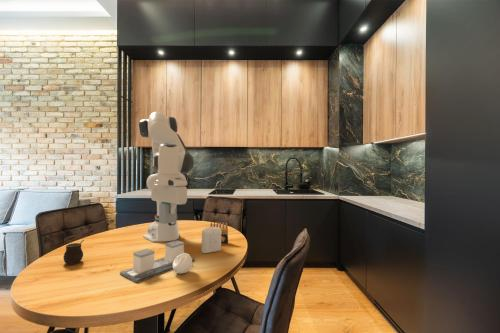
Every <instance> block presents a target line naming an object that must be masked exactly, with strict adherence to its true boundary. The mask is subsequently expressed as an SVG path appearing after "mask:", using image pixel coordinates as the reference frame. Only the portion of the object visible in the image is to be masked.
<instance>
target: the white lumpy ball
mask: <svg viewBox="0 0 500 333" xmlns="http://www.w3.org/2000/svg"><path fill="white" fill-rule="evenodd" d="M192 258H193V257H191V255H190V254H189V253H187V252H184V253H183V254H180V255H178V256H177V257H176V259H175V260H174V262H173V264H172V265H173V269H172V270H173V271H174V272H175V273H177V274H181V275H182V274H185V273H188V272H189V271H190V270H191V268H192V266H193V262H192Z"/></svg>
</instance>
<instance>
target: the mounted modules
mask: <svg viewBox="0 0 500 333" xmlns="http://www.w3.org/2000/svg"><path fill="white" fill-rule="evenodd" d="M184 245H185V243H184V242H183V241H180V240H172V241H169V242H167V243H165V256H164V257H165V259H166V260H169V261H174V260H175V259H176V257H177V256H178V255H180V254H183V253H185V252H184V251H185V250H184V249H185V247H184ZM132 254H133V263H132V264H133V267H132V268H133V270H134V271H136V272H138V273H142V272H144V271H147V270H150V269H153V268H154V261H155V250H152V249H150V248H145V249H141V250H138V251H134V252H133V253H132Z"/></svg>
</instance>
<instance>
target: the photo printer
mask: <svg viewBox="0 0 500 333" xmlns="http://www.w3.org/2000/svg"><path fill="white" fill-rule="evenodd" d="M221 228H222V227H221ZM221 228H219V226H218V227H216V226H215V227H213V226H212V227H206V228H204V229H202V231H201V253H202V254H209V253H214V252H221V251H222V243H221Z"/></svg>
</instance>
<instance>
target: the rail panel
mask: <svg viewBox="0 0 500 333" xmlns="http://www.w3.org/2000/svg"><path fill="white" fill-rule="evenodd" d="M165 257H166V256H164V257H162V258H159V259H156V260H155V259H154V268H153V269H150V270H147V271H144V272H142V273H138V272H136V271H134V270H133V267H131V268H129V269H125V270H122V271H120V272H119V275H120V276H122V277H124V278H126V279H128V280H130V281H132V282H134V283H136V284H138V283H140V282H141V283H142V282H143V281H146V280H148V279H151V278H153V277H156V276H158V275H161V274H163V273H164V274H165V273H166V272H169V271H172V270H174V269H173V265H172V264H173V262H174V261H169V260H166V259H165ZM191 258H192V263H194V262H195V258H194V257H191Z"/></svg>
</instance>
